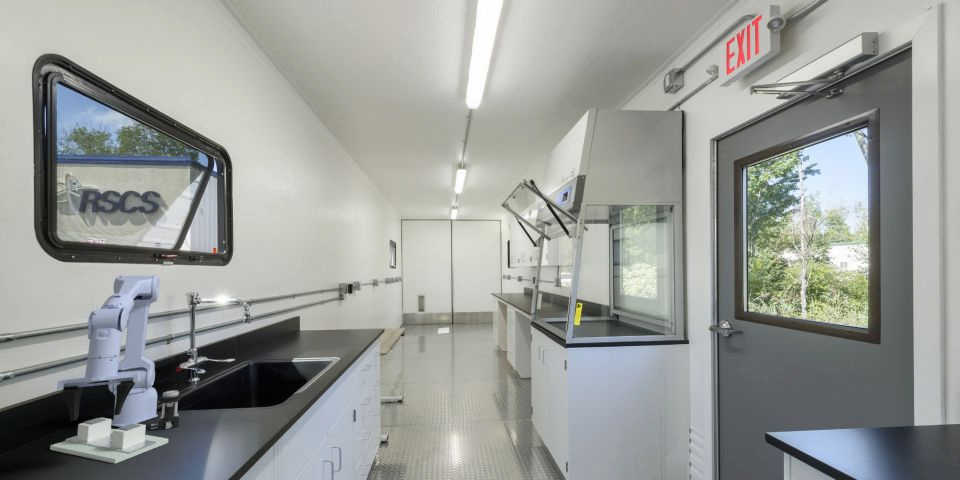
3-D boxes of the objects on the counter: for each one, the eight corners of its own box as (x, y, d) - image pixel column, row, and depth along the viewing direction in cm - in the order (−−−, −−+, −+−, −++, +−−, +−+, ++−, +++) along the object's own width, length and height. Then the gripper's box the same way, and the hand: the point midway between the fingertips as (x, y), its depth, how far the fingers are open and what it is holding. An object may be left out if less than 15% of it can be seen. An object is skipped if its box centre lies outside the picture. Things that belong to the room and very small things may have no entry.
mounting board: (106, 431, 112) (106, 427, 112) (168, 442, 105) (168, 438, 105) (50, 449, 100) (50, 445, 100) (115, 463, 93) (115, 459, 94)
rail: (93, 431, 109) (93, 430, 109) (156, 443, 102) (156, 441, 102) (65, 440, 103) (65, 439, 103) (129, 453, 96) (130, 451, 96)
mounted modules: (100, 432, 108) (101, 416, 108) (144, 440, 103) (145, 423, 103) (77, 440, 103) (78, 423, 103) (122, 449, 98) (123, 431, 98)
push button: (149, 433, 111) (152, 396, 111) (151, 427, 115) (154, 392, 116) (179, 428, 115) (182, 392, 115) (180, 422, 119) (182, 388, 120)
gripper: (55, 361, 90) (45, 425, 87) (137, 355, 97) (131, 414, 94) (68, 360, 96) (59, 420, 93) (144, 354, 103) (138, 410, 100)
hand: (96, 417), depth 94 cm, fingers open, 7 cm apart
